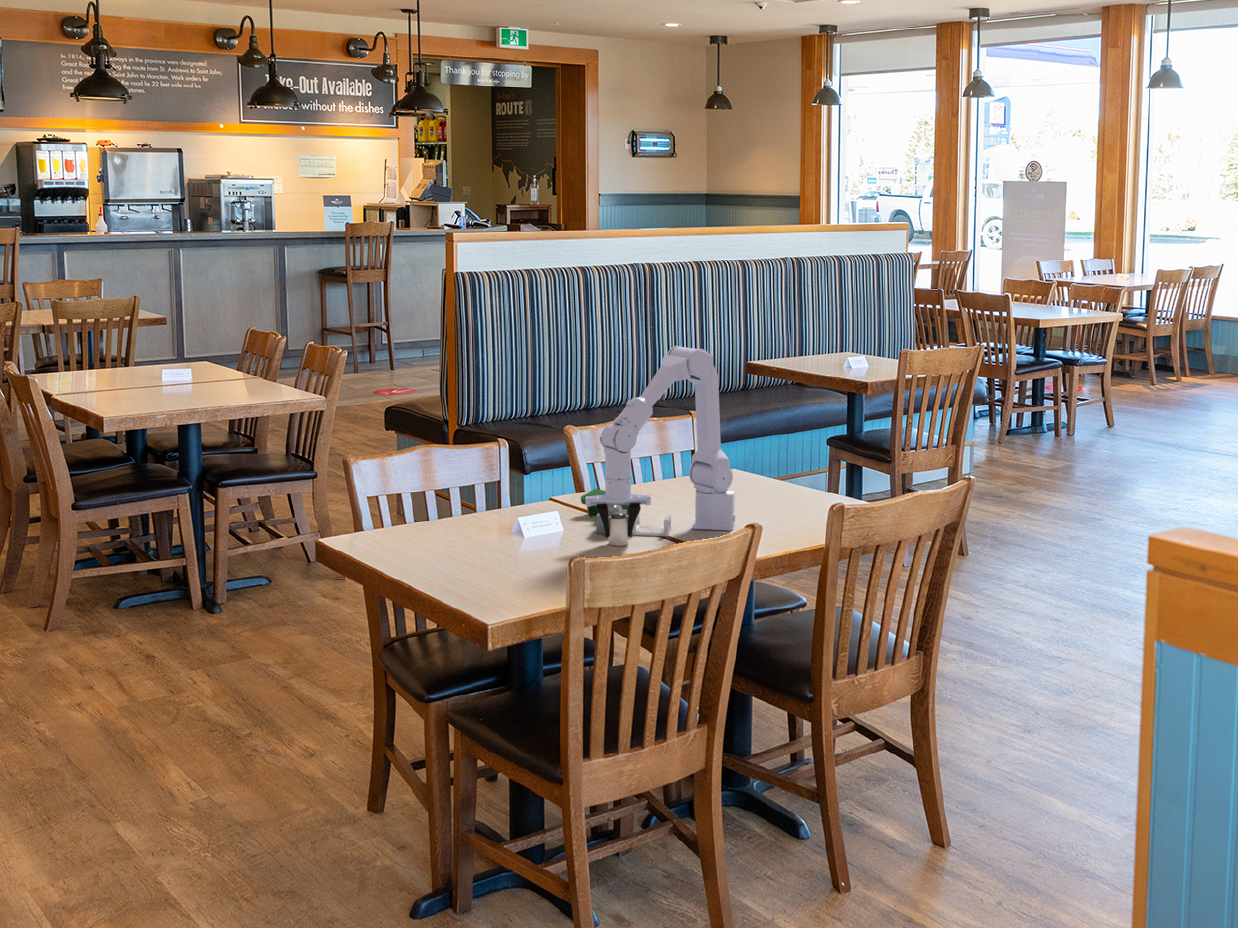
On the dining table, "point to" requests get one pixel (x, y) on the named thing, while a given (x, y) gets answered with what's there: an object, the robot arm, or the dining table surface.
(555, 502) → the dining table surface
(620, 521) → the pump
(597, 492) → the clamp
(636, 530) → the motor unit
